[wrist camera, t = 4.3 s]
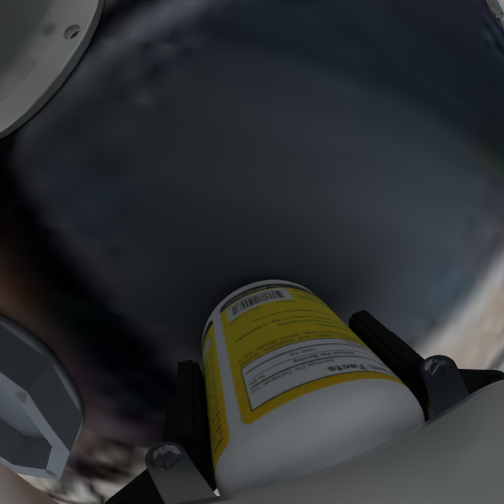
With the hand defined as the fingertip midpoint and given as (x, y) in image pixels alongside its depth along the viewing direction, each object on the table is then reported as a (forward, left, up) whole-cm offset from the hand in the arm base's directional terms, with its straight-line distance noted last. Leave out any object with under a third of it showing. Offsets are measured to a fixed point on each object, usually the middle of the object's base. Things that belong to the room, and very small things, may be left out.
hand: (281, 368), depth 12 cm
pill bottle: (0, 0, -3) cm, 3 cm away
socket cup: (+1, -17, -3) cm, 17 cm away
